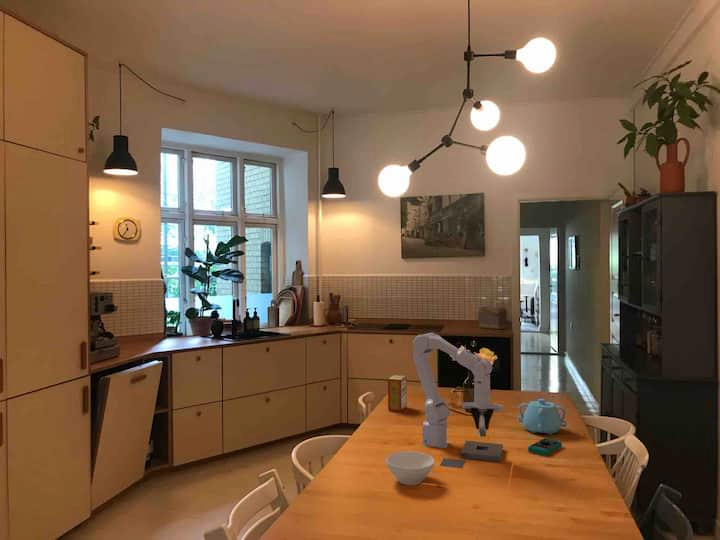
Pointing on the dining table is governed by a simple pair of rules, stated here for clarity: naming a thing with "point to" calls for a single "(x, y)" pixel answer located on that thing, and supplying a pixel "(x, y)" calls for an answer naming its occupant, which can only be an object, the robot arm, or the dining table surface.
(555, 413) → the decorative pot
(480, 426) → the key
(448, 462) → the key mat
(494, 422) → the dining table surface
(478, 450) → the chuck block
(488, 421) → the robot arm
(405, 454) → the bowl
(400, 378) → the baking soda box
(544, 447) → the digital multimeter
